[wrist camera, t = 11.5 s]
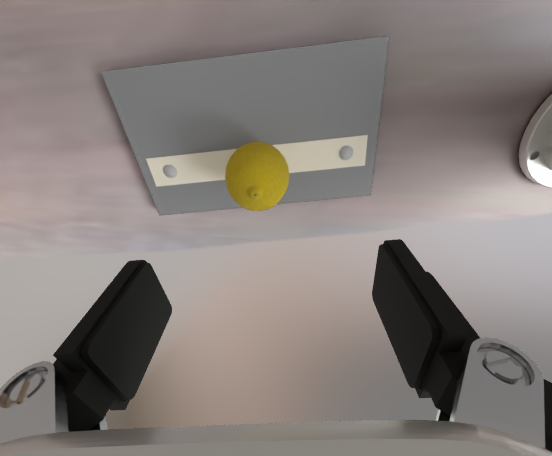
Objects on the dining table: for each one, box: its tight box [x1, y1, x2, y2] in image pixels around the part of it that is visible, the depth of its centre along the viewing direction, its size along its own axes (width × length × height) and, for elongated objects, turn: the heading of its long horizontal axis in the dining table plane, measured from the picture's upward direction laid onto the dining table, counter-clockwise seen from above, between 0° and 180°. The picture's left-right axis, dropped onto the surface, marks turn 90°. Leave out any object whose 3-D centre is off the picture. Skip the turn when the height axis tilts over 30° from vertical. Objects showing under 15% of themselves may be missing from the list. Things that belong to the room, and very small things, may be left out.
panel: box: [101, 36, 389, 216], centre depth 24 cm, size 24×14×2 cm, turn 96°
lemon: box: [225, 142, 289, 211], centre depth 21 cm, size 6×6×8 cm
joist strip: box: [146, 135, 368, 187], centre depth 25 cm, size 22×3×1 cm, turn 96°
